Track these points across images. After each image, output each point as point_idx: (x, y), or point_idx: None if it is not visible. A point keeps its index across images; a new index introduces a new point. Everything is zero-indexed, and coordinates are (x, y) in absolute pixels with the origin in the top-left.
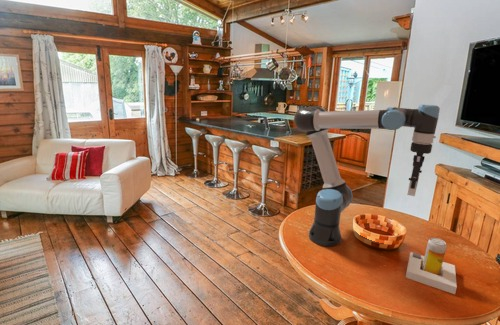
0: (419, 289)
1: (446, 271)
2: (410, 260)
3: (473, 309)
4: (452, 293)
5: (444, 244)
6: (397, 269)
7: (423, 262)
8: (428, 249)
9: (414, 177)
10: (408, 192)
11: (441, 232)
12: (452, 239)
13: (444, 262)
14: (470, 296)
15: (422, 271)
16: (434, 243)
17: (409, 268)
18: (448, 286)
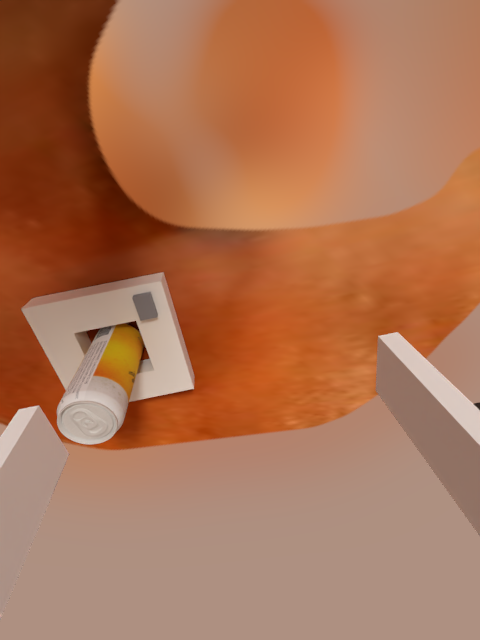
0: (15, 339)
1: (136, 382)
2: (100, 298)
3: None
4: None
5: (93, 438)
6: (53, 265)
7: (99, 340)
8: (70, 383)
9: (450, 446)
10: (8, 436)
11: (445, 301)
12: (407, 335)
13: (186, 368)
14: None
15: (68, 340)
16: (57, 420)
17: (44, 310)
18: None
